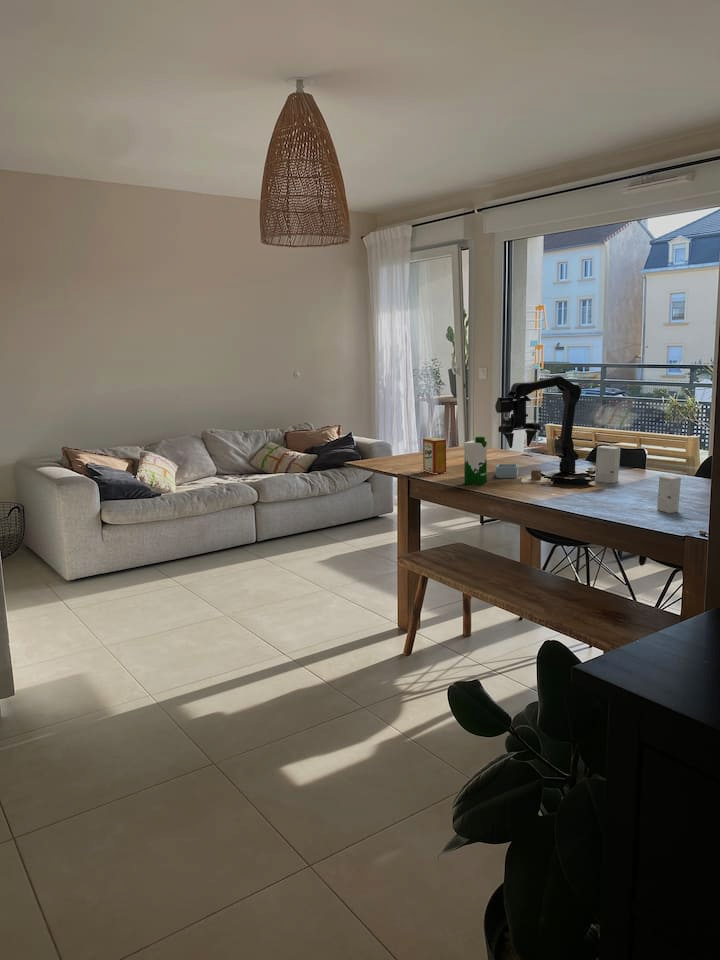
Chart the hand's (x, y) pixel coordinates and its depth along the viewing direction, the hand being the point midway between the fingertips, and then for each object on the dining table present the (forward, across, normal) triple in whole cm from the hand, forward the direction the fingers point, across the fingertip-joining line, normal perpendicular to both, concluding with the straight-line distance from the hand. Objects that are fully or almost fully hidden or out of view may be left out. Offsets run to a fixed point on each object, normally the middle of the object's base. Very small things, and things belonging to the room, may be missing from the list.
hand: (519, 447), depth 332 cm
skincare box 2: (+14, -3, +82) cm, 83 cm away
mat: (+13, +2, +14) cm, 20 cm away
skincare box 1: (+14, -23, +30) cm, 40 cm away
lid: (+13, +2, +14) cm, 19 cm away
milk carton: (+13, +25, +3) cm, 28 cm away
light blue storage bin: (+13, +5, -2) cm, 14 cm away
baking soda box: (+13, +26, -30) cm, 42 cm away
